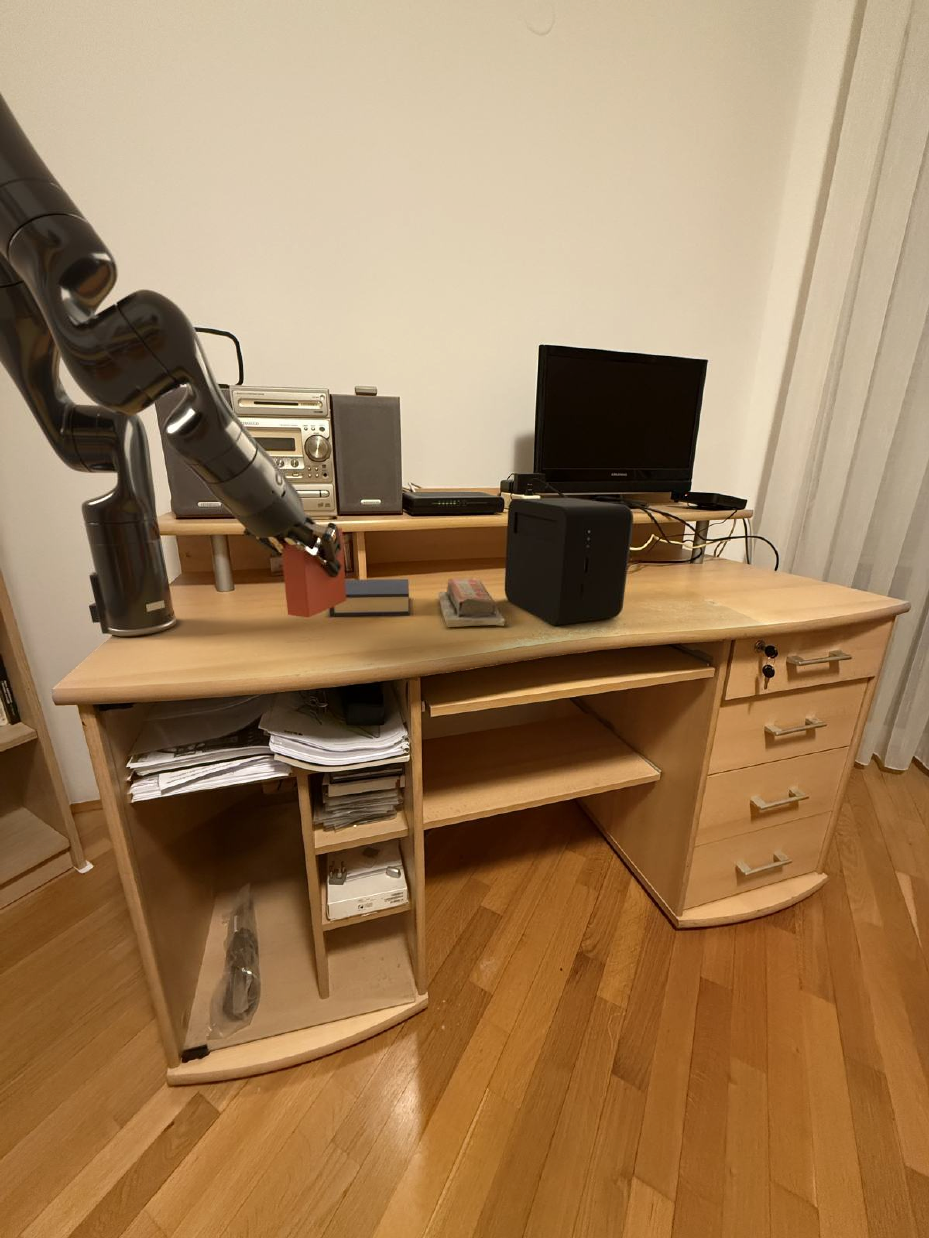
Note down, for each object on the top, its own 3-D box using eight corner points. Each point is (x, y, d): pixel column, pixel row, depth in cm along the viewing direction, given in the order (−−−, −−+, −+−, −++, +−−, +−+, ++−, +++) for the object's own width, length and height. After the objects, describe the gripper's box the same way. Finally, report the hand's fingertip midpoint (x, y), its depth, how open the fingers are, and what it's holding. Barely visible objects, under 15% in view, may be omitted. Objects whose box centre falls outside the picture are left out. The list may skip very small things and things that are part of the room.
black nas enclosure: (628, 620, 87) (642, 506, 81) (558, 629, 82) (568, 507, 76) (564, 592, 105) (572, 496, 99) (503, 598, 100) (508, 497, 93)
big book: (329, 616, 87) (328, 594, 85) (337, 599, 97) (336, 580, 96) (409, 615, 88) (408, 593, 87) (408, 598, 99) (408, 579, 97)
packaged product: (437, 575, 97) (487, 575, 98) (437, 599, 98) (486, 598, 100) (446, 600, 80) (506, 599, 81) (446, 628, 81) (505, 627, 83)
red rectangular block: (309, 618, 66) (301, 536, 62) (287, 614, 67) (279, 534, 63) (346, 600, 74) (342, 527, 70) (327, 598, 75) (321, 525, 71)
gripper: (190, 510, 57) (274, 587, 71) (290, 517, 52) (358, 598, 67) (220, 462, 60) (294, 546, 74) (317, 465, 55) (376, 553, 70)
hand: (324, 570), depth 70 cm, fingers closed on red rectangular block, 3 cm apart
